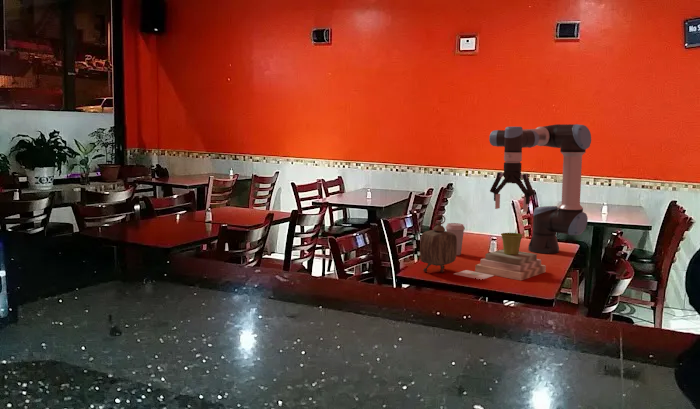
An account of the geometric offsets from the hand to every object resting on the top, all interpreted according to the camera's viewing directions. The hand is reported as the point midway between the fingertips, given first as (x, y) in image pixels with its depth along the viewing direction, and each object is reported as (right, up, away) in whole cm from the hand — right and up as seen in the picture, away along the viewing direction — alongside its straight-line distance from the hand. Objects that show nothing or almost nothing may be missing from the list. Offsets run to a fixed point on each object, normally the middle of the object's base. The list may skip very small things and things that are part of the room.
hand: (511, 210), depth 276 cm
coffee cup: (-19, -22, +35) cm, 46 cm away
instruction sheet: (-18, -28, -9) cm, 34 cm away
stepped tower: (-1, -27, -2) cm, 27 cm away
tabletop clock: (-33, -27, -4) cm, 43 cm away
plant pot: (-1, -19, -3) cm, 20 cm away
